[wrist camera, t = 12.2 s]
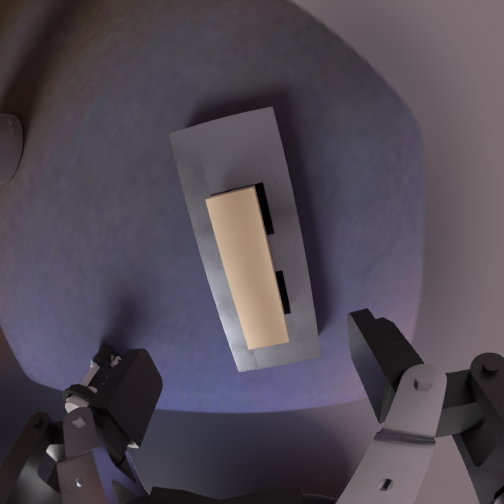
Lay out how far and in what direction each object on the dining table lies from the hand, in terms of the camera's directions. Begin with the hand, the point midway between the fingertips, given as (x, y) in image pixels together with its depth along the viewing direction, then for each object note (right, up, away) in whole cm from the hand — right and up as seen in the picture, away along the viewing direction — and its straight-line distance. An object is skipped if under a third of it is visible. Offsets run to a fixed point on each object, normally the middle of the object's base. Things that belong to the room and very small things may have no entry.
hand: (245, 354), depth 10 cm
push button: (-17, -10, +19) cm, 27 cm away
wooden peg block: (0, +4, +14) cm, 15 cm away
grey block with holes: (0, +4, +14) cm, 15 cm away
